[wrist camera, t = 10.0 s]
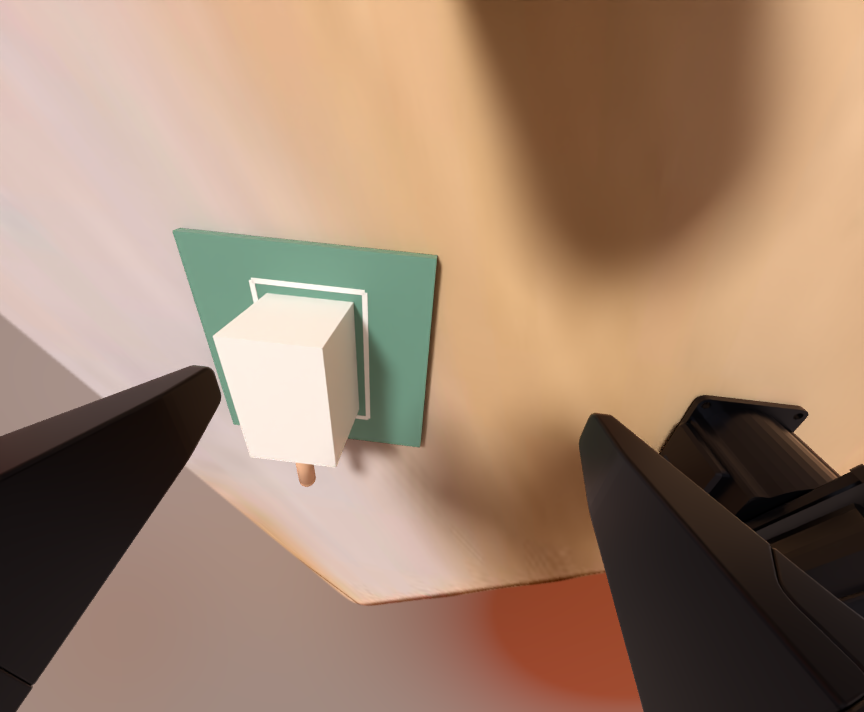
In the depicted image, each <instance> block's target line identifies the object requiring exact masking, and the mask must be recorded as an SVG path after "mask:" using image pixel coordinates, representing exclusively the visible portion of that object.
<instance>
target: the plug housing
mask: <svg viewBox="0 0 864 712" xmlns="http://www.w3.org/2000/svg"><path fill="white" fill-rule="evenodd" d="M213 339H214V342H215V345H216V349H217V352H218V355H219V358H220V361H221V365H222V368H223V371H224V374H225V377H226V381H227V384H228V387H229V390H230V394H231V397H232V400H233V403H234V406H235V410H236V413H237V416H238V419H239V422H240V426H241V429H242V432H243V435H244V438H245V442H246V445H247V448H248V451H249V455H250V457H255V458H263V459H271V460H279V461H287V462H295V463H296V467H297V472H298V477H299V481H300V484H301V485H302V486H305V487H308V486H311V485H312V484H313V483H314V482H315V479H316V476H315V470H314V465H320V466H328V467H336V466H337V464H338V461H339V459H340V456H341V454H342V451H343V449H344V446H345V444H346V441H347V438H348V436H349V433H350V431H351V428H352V426H353V423H354V421H355V418H356V416H357V413H358V411H359V396H358V377H357V359H356V340H355V321H354V303H353V302H347V301H338V300H328V299H319V298H309V297H300V296H290V295H281V294H272V293H266V294H265V295H264V296H262V297H261V298H260V299H259V300H257V301H256V302H255V303H254V304H252V305H251V306H250V307H249V308H247V309H246V310H245V311H244V312H242V313H241V314H240V315H238V316H237V317H236V318H235V319H233V320H232V321H231V322H230V323H228V324H227V325H226V326H225V327H223V328H222V329H221V330H220V331H218V332H217V333H216V334H215V335H213Z"/></svg>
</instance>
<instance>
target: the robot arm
mask: <svg viewBox="0 0 864 712" xmlns="http://www.w3.org/2000/svg"><path fill="white" fill-rule="evenodd" d="M220 401H221V392H220V389H219V386H218V383H217V379H216V376H215V373H214V371H213V370H212V369H211V368H209V367H205V366H196V365H193V366H189V367H186V368H183V369H181V370H178V371H175V372H173V373H170V374H167V375H164V376H162V377H159V378H156V379H154V380H151V381H148V382H146V383H143V384H140V385H138V386H135V387H132V388H129V389H127V390H124V391H121V392H119V393H116V394H113V395H111V396H108V397H105V398H103V399H100V400H97V401H94V402H92V403H89V404H86V405H84V406H81V407H78V408H76V409H73V410H70V411H68V412H65V413H62V414H60V415H57V416H54V417H51V418H49V419H46V420H43V421H41V422H38V423H35V424H33V425H30V426H27V427H24V428H22V429H19V430H16V431H14V432H11V433H8V434H6V435H3V436H0V712H16V711H17V710H18V708H19V707H20V705H21V704H22V702H23V701H24V699H25V698H26V697H27V695H28V694H29V692H30V691H31V689H32V687H33V686H32V685H33V684H35V683H36V681H37V680H38V678H39V677H40V676H41V674H42V673H43V671H44V670H45V668H46V667H47V665H48V664H49V663H50V661H51V660H52V658H53V657H54V655H55V654H56V652H57V651H58V649H59V648H60V647H61V645H62V644H63V642H64V641H65V639H66V638H67V636H68V635H69V633H70V632H71V631H72V629H73V627H74V626H75V625H76V623H77V622H78V620H79V619H80V617H81V616H82V615H83V613H84V612H85V610H86V609H87V607H88V606H89V604H90V603H91V601H92V600H93V599H94V597H95V596H96V594H97V593H98V591H99V590H100V588H101V587H102V585H103V584H104V583H105V581H106V580H107V578H108V577H109V575H110V574H111V572H112V571H113V569H114V568H115V567H116V565H117V563H118V562H119V561H120V559H121V558H122V556H123V555H124V553H125V552H126V550H127V549H128V547H129V546H130V545H131V543H132V542H133V540H134V539H135V537H136V536H137V534H138V533H139V531H140V530H141V529H142V527H143V526H144V524H145V523H146V521H147V520H148V518H149V517H150V516H151V514H152V513H153V511H154V510H155V508H156V507H157V505H158V504H159V502H160V501H161V499H162V498H163V497H164V495H165V494H166V492H167V491H168V489H169V488H170V486H171V485H172V484H173V482H174V481H175V479H176V478H177V476H178V475H179V473H180V472H181V470H182V469H183V468H184V466H185V464H186V463H187V461H188V460H189V458H190V457H191V455H192V453H193V451H194V450H195V448H196V446H197V444H198V443H199V441H200V439H201V437H202V435H203V433H204V432H205V430H206V428H207V426H208V424H209V422H210V421H211V419H212V417H213V415H214V413H215V411H216V410H217V408H218V406H219V404H220ZM704 403H705V404H704ZM807 416H808V412H807V411H806V410H805V409H803V408H802V407H800V406H795V405H786V404H778V403H769V402H760V401H752V400H743V399H735V398H726V397H717V396H709V395H703V396H699V397H698V398H696V399H695V400H694V402H693V403H692V405H691V406H690V408H689V410H688V411H687V413H686V414H685V416H684V417H683V419H682V420H681V422H680V424H679V425H678V427H677V428H676V430H675V431H674V433H673V434H672V436H671V438H670V439H669V441H668V442H667V444H666V445H665V447H664V449H663V450H662V452H661V453H660V454H658V453H657V452H656V451H655V450H654V449H652V448H651V447H650V446H649V445H647V444H646V443H645V442H644V441H642V440H641V439H640V438H639V437H638V436H636V435H635V434H634V433H633V432H631V431H630V430H629V429H628V428H627V427H625V426H624V425H623V424H622V423H620V422H619V421H618V420H617V419H615V418H614V417H613V416H611V415H608V414H600V413H593V414H591V415H590V417H589V418H588V421H587V423H586V425H585V427H584V430H583V432H582V434H581V436H580V440H579V450H580V457H581V463H582V470H583V476H584V483H585V489H586V496H587V502H588V507H589V512H590V516H591V520H592V524H593V527H594V531H595V535H596V538H597V542H598V546H599V549H600V553H601V557H602V560H603V564H604V568H605V571H606V575H607V579H608V582H609V586H610V589H611V593H612V597H613V600H614V605H615V608H616V612H617V615H618V619H619V622H620V626H621V630H622V634H623V638H624V641H625V645H626V649H627V652H628V656H629V660H630V663H631V667H632V671H633V674H634V678H635V682H636V685H637V689H638V692H639V696H640V700H641V704H642V707H643V711H644V712H864V465H863V464H860V465H858V466H856V467H854V468H852V469H850V471H851V472H849V473H847V474H845V475H843V476H840V475H839V474H838V473H837V472H836V471H835V470H834V469H832V468H831V467H830V466H829V465H828V464H827V463H826V462H825V461H824V460H823V459H822V458H820V457H819V456H818V455H817V454H816V453H815V452H814V451H813V450H812V449H811V448H810V447H809V446H807V445H806V444H805V443H804V442H803V441H802V440H801V439H800V438H799V437H798V436H797V435H796V434H794V433H793V432H794V431H795V430H796V429H797V428H798V427H799V425H800V424H801V423H802V422H803V421H804V420H805V419H806V418H807Z"/></svg>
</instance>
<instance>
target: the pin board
mask: <svg viewBox="0 0 864 712" xmlns="http://www.w3.org/2000/svg"><path fill="white" fill-rule="evenodd" d="M173 234H174V238H175V241H176V244H177V247H178V250H179V253H180V256H181V260H182V263H183V266H184V269H185V272H186V275H187V279H188V282H189V285H190V288H191V291H192V294H193V297H194V301H195V304H196V307H197V310H198V313H199V316H200V319H201V323H202V326H203V329H204V332H205V335H206V338H207V342H208V345H209V348H210V351H211V354H212V357H213V360H214V364H215V367H216V370H217V373H218V376H219V379H220V383H221V386H222V389H223V392H224V395H225V398H226V401H227V405H228V408H229V411H230V414H231V417H232V420H233V424H235V425H240V422H239V419H238V416H237V413H236V410H235V406H234V403H233V400H232V397H231V394H230V390H229V387H228V384H227V381H226V377H225V374H224V371H223V368H222V365H221V361H220V358H219V355H218V352H217V349H216V345H215V342H214V339H213V335H215V334H216V333H217V332H218V331H220V330H221V329H222V328H223V327H225V326H226V325H227V324H228V323H230V322H231V321H232V320H233V319H235V318H236V317H237V316H238V315H240V314H241V313H242V312H244V311H245V310H246V309H247V308H249V307H250V306H251V305H252V304H254V303H255V302H256V301H257V300H259V299H260V298H261V297H262V296H264V295H265V294H266V293H272V294H281V295H290V296H300V297H309V298H319V299H328V300H338V301H347V302H353V303H354V321H355V340H356V359H357V377H358V396H359V411H358V413H357V416H356V418H355V421H354V423H353V426H352V428H351V431H350V433H349V436H348V439H357V440H365V441H373V442H381V443H389V444H397V445H405V446H413V447H420V444H421V435H422V424H423V412H424V401H425V390H426V379H427V367H428V356H429V345H430V334H431V322H432V311H433V300H434V289H435V277H436V266H437V255H429V254H420V253H410V252H401V251H391V250H382V249H373V248H363V247H354V246H345V245H335V244H326V243H316V242H307V241H298V240H288V239H279V238H269V237H260V236H251V235H241V234H232V233H223V232H213V231H204V230H194V229H185V228H179V229H176V230H173Z"/></svg>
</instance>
